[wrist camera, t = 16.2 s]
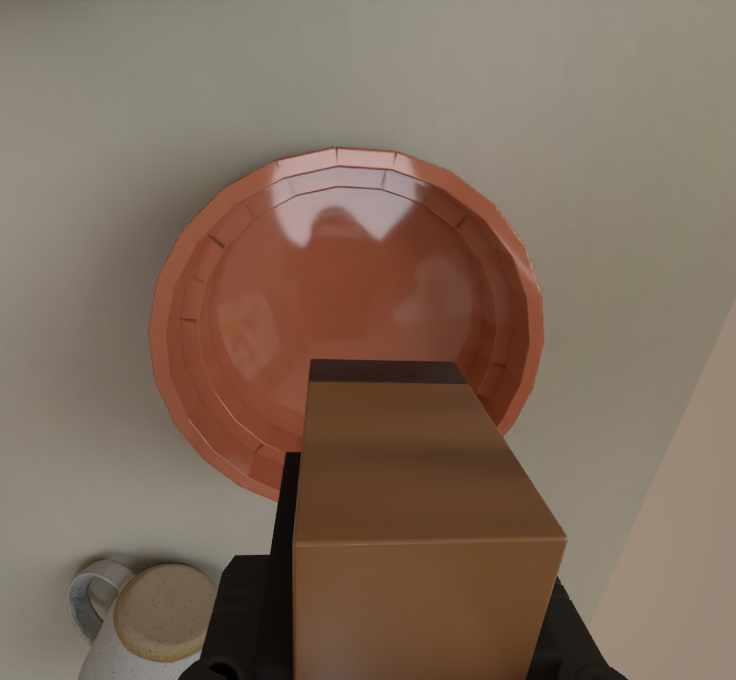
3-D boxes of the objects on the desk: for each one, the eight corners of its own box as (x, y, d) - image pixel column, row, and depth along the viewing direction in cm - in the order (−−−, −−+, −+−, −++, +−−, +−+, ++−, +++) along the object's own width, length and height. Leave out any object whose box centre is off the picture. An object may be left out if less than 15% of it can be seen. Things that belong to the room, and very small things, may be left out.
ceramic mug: (238, 568, 33) (211, 679, 26) (204, 638, 35) (171, 756, 28) (92, 530, 30) (19, 639, 23) (67, 607, 33) (-6, 728, 26)
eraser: (310, 358, 13) (292, 544, 7) (454, 361, 14) (570, 538, 7) (307, 574, 16) (293, 841, 10) (423, 571, 17) (483, 824, 10)
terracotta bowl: (535, 164, 24) (585, 164, 19) (479, 458, 31) (506, 509, 26) (164, 138, 22) (120, 130, 17) (197, 459, 29) (172, 515, 24)
